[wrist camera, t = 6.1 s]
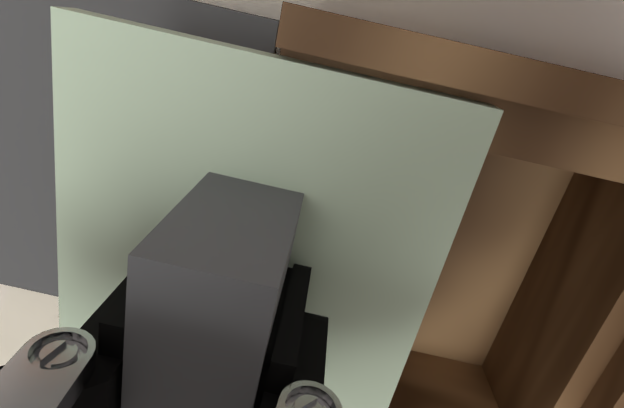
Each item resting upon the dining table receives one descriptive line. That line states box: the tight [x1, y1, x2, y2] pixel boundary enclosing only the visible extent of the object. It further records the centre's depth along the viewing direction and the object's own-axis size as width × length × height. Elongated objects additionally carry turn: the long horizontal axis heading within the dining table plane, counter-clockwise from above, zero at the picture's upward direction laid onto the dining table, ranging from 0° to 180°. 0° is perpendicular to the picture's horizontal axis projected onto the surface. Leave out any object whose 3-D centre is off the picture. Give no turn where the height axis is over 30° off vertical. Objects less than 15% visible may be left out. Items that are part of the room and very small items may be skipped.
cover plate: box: [50, 6, 504, 408], centre depth 11 cm, size 11×13×6 cm
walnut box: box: [275, 1, 624, 408], centre depth 16 cm, size 13×16×7 cm
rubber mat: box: [0, 0, 280, 297], centre depth 19 cm, size 15×13×1 cm
